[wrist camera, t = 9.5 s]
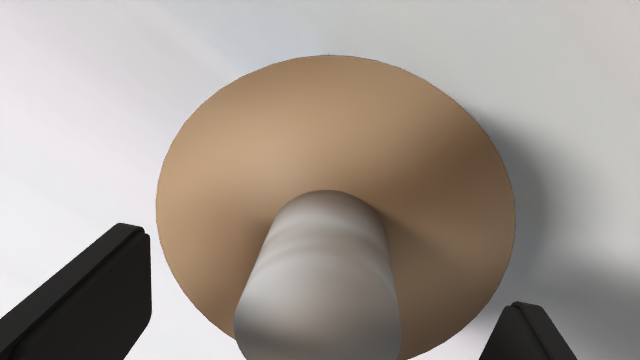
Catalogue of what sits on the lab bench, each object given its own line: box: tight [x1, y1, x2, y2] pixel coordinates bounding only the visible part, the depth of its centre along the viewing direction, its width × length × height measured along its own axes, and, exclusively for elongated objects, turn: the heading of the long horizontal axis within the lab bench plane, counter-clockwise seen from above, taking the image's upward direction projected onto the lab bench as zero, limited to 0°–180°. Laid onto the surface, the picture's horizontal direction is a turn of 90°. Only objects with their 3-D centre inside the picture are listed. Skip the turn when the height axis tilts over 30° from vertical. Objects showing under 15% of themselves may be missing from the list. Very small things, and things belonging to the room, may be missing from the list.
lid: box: [156, 55, 516, 360], centre depth 11 cm, size 12×12×5 cm
